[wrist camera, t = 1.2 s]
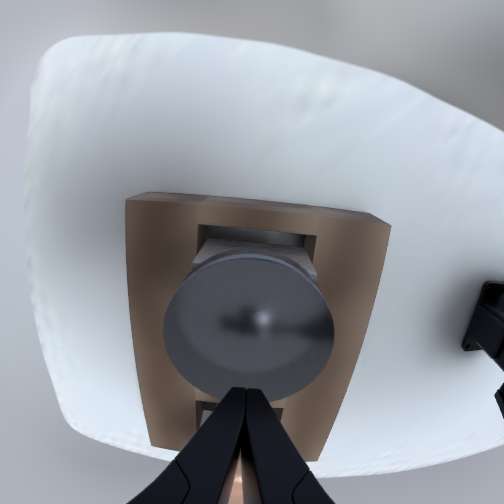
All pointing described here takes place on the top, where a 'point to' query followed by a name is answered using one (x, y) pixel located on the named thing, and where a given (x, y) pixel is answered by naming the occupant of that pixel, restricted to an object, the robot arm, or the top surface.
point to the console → (180, 264)
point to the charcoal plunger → (249, 320)
